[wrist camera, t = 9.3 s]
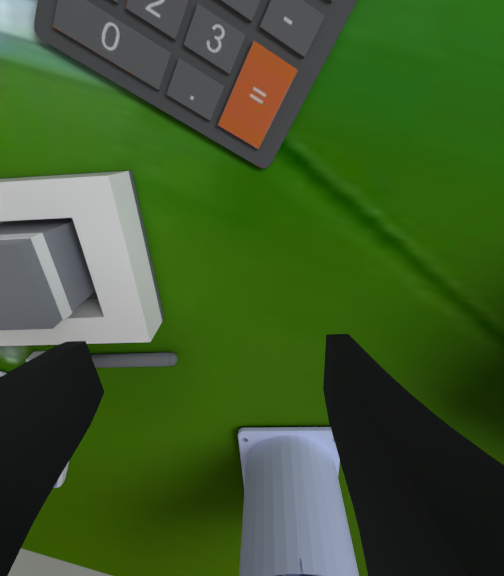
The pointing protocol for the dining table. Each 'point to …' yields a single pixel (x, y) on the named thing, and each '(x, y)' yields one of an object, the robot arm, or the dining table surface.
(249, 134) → the calculator
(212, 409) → the dining table surface
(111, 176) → the switch plate
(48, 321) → the block
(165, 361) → the cable
